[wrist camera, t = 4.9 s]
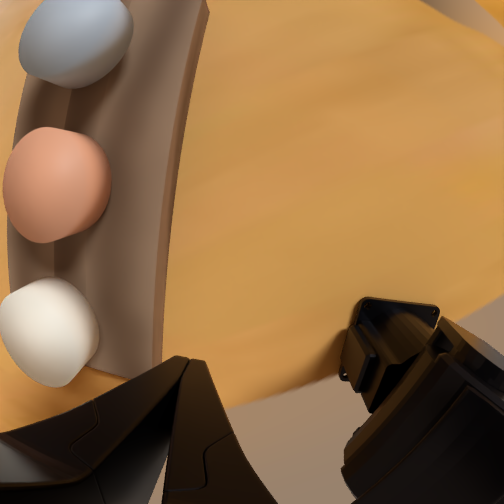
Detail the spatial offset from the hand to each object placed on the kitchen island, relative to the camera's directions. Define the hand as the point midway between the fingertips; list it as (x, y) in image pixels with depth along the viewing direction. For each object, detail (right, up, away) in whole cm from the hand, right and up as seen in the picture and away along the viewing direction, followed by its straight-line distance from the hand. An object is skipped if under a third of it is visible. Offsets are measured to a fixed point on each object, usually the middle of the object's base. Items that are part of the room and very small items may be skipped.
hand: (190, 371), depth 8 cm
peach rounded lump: (-9, +8, +11) cm, 16 cm away
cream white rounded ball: (-10, 0, +11) cm, 15 cm away
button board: (-9, +8, +11) cm, 16 cm away
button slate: (-8, +16, +8) cm, 19 cm away
